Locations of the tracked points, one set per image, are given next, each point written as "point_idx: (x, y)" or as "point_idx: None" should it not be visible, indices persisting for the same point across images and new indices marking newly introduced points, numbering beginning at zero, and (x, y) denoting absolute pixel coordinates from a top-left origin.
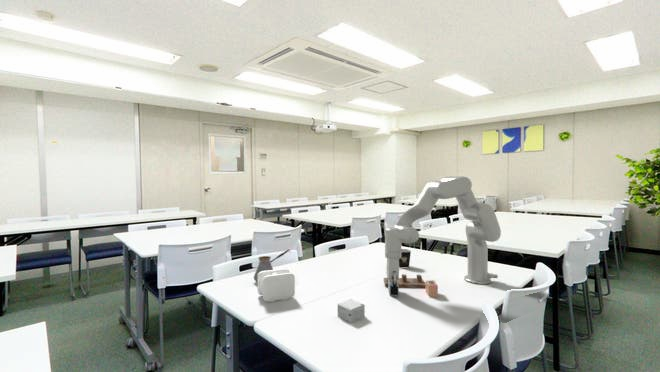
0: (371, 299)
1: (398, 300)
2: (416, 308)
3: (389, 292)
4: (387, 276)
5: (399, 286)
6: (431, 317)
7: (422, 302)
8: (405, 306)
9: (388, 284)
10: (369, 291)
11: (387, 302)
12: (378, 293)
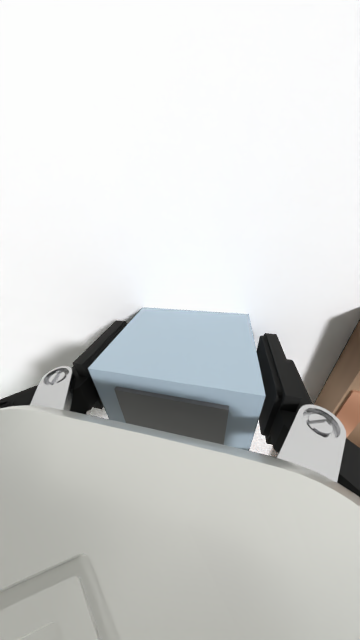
0: (15, 136)
1: (87, 340)
2: (40, 379)
3: (148, 317)
4: (49, 454)
5: (320, 402)
6: (4, 392)
7: (103, 411)
8: (35, 351)
9: (232, 350)
10: (240, 71)
11: (32, 277)
12: (178, 217)
